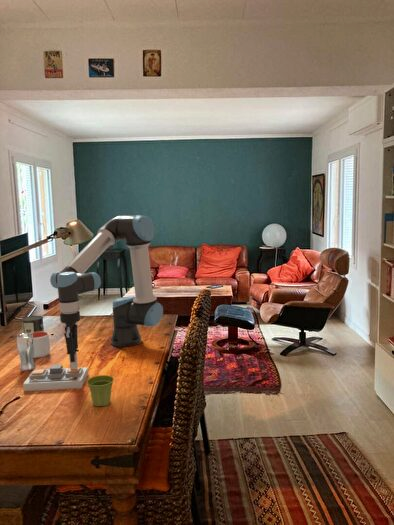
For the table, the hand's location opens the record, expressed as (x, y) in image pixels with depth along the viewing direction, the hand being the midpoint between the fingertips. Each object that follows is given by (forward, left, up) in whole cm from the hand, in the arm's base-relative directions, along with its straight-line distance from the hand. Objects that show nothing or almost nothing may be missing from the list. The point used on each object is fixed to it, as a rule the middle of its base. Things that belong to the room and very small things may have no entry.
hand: (74, 368), depth 179 cm
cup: (+24, -34, -6) cm, 42 cm away
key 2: (0, 0, -2) cm, 2 cm away
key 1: (+14, 0, -2) cm, 14 cm away
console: (+7, 0, -5) cm, 9 cm away
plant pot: (-14, +21, -6) cm, 26 cm away
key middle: (+7, 0, 0) cm, 7 cm away
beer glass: (+24, -17, -6) cm, 30 cm away
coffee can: (+31, -50, -6) cm, 59 cm away
